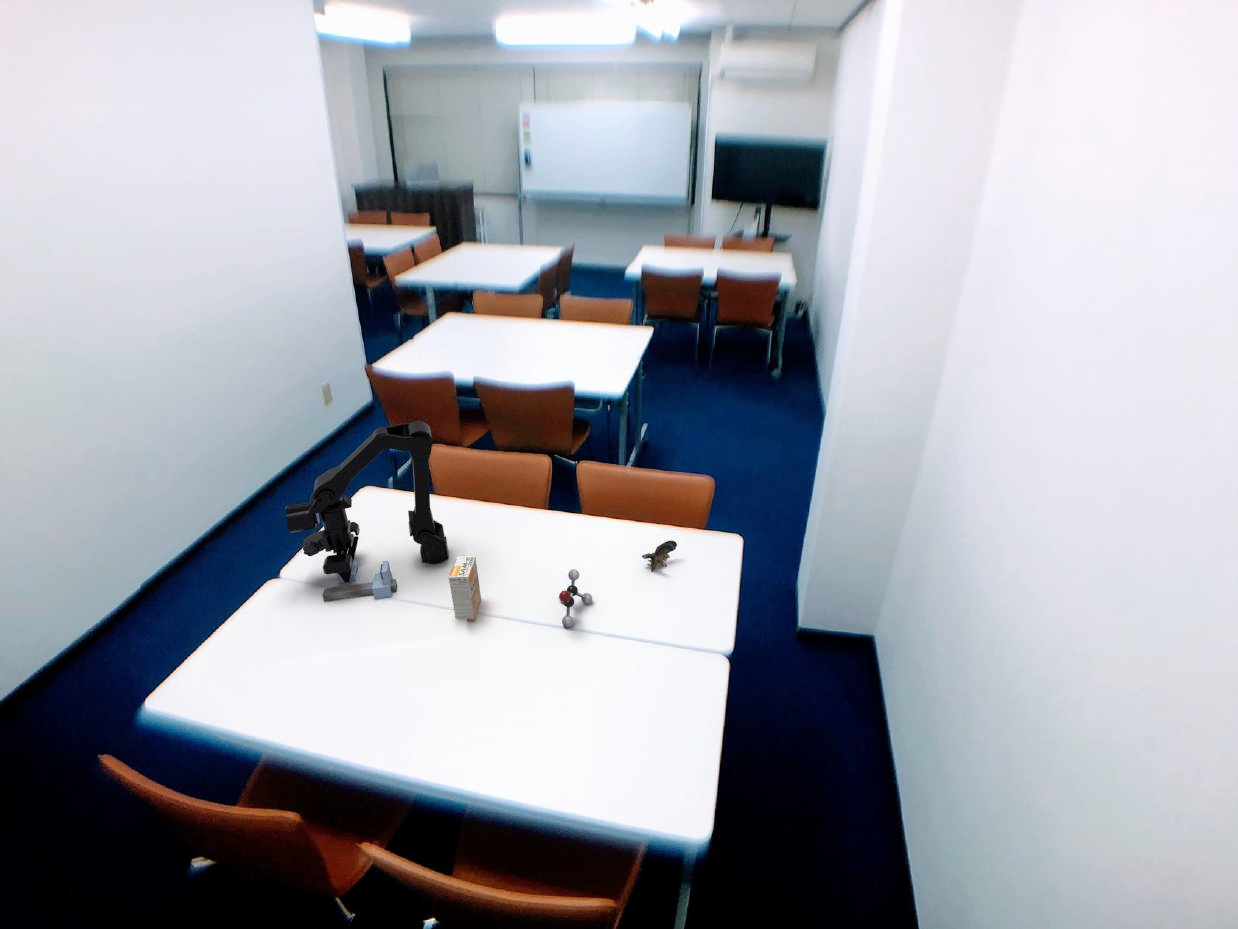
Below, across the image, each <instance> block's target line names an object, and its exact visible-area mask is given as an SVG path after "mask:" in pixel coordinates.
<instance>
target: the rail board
mask: <svg viewBox="0 0 1238 929" xmlns="http://www.w3.org/2000/svg"><path fill="white" fill-rule="evenodd" d="M397 583H398V582H397V579H396V578H393V579H392V580H391V593H396V592H397V590H398V584H397ZM372 587H373V581H371V582H364V583H354V584H349V585H348V584H347V585H340V586H334V587H327V588H326V587H325V588H324V589H323V590H322V591H323V592H322V598H323V602H324V603H327V602H332V601H333V602H334V601H341V600H347V599H354V598H362V597H369V596H374V594H373V590H372Z"/></svg>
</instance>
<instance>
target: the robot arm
mask: <svg viewBox="0 0 1238 929" xmlns="http://www.w3.org/2000/svg"><path fill="white" fill-rule="evenodd" d="M432 437H433V436H432V431H431V427H430V426H429V424H428V423H426V422H425V421H422V420H415V421H413V422H410V423H409V422H407V423H406V422H405V423H403V422H402V423H399V424H395V425H392V426H380V427H378V428H375V429H374V431H373V433H372V434H371V435H370V436H368V438H366V439H365V440H364V441H363V442H362V443H361V444H360V445H359V446H358V447H357V448H355V449H354V451H352V453H351V454H350V455H349V456H347V457H346V459H344V460H343V461H342V462H341V463H340V464H338V465H337V466H335V467H332V468H329V469H328V470H326V471H325V472H324V473H323V472H322V474H320V475H318V477H317V478H316V479H315V481H314V488H313V492H312V493H311V495H310V499H309V502H304V503H298V504H287V505H286V506H285V509H284V510H285V516H286V527H287V530H288V532H289V533H290V534H293V533H297V532H304V531H308V530H309V531H310V530H314V529H316V528H317V525H318V524H319V525H320V522H321V521H322V522H321V523H322V526H323V530H319V531H317V532H314V533H312V534H310V535H308V536H306V537H305V538H304V540H303V543H302V550H303V554H304V555H306V556H308V557H313V556H315V555H317V554H319V553H320V552H322V551H324V550H325V553H327V552H328V553H330V552H332V553H333V554H330V555H327V556H326V557H325V558H324V561H323V564H322V570H323V573H324V575H326V576H327V575H334V574H337V575H338V574H339V575H340V576H341V578H342V579H343V580H344V582H345V583H350V582H349V580H350V576H351V571H352V566H353V561H354V560H355V557H356V553H357V548H358V542H359V535H360V525H359V523H357V522H355V521H351V520H350V519H348V514H347V510H346V509H351V508H352V506H353V504H352V503H353V500H352V498H350V497H347V496H345V495H344V493H345V492H346V490H347V488H348V486H349V485H350V483H351V482H352V480H353V479H354V478H355V477H356V476H358V474H360V473H362V472H361V471H363V470H364V469H365V468H366V467H367V466H368V465H369V464H370V463H371V462H372V461H374V459H376V458H377V457H378V456H379V455H380V454H381V453H382V452H383V451H384V450H395V451H399V452H409V453H410V458H411V460H412V475H413V493H414V507H413V510H407V513H408V515H407V516H408V529H409V530H408V531H409V536H410V537H412V539H413V542H414V543H416V544H418V545H420V546H419V547H420V549H419V553H420V558H421V563H424V564H430V565H439V564H442V563H444V562H445V561H448V560H449V559H450V553H449V552H450V551H449V546H448V541H447V536H445V531H444V526H443V524H442V523H441V522H439V521H437V520H435V519H434V517H433V512H432V509H431V498H430V497H431V496H430V495H431V494H430V473H429V471H430V470H429V469H430V468H429V461H430V457H431V454H432V450H433V443H434V442H433V438H432ZM320 518H321V520H320ZM336 553H337V554H336Z"/></svg>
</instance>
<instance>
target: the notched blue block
mask: <svg viewBox="0 0 1238 929" xmlns="http://www.w3.org/2000/svg"><path fill="white" fill-rule="evenodd" d="M336 554H337V553H335V555H336ZM358 569H359V563H358V560H357V559H354V561H353V566H352V571H351V576H350V580H349V582H348V583H350V582H357V576H356V575H357V570H358ZM337 580H338V584H344V583H346V582H344V580H343V579H342V578H341V576H340V575H339V574H338V573H337Z"/></svg>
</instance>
